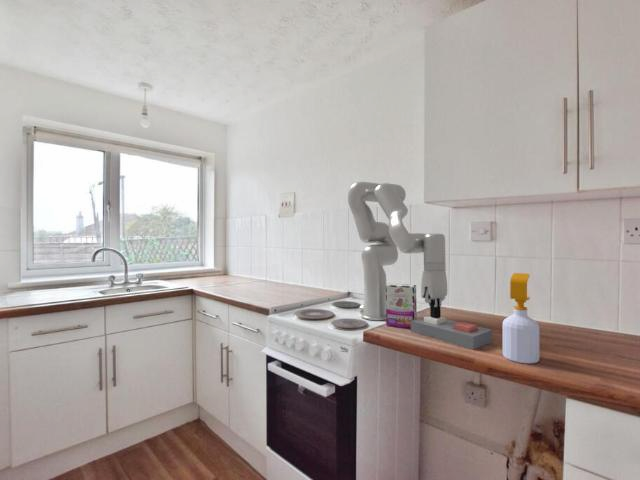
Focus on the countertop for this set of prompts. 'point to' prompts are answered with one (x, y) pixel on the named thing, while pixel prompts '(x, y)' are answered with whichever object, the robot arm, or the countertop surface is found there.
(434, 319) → the ivory key
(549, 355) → the countertop surface
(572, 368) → the countertop surface
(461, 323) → the brick-red key
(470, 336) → the key console
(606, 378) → the countertop surface
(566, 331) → the countertop surface
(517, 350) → the soap bottle
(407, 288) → the candy bar box
